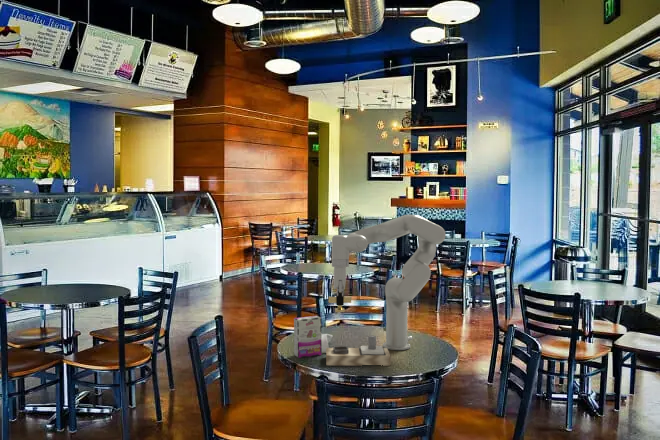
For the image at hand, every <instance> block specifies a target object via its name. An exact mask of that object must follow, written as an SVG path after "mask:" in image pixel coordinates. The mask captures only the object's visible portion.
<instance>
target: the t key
mask: <svg viewBox="0 0 660 440" xmlns="http://www.w3.org/2000/svg"><path fill="white" fill-rule="evenodd" d="M328 303H329V304H336V296H328ZM351 303H352V296H344V304H351ZM345 312H346V310H345V308H344V307H343V305H337V308H335V313H345Z"/></svg>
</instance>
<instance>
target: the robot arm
mask: <svg viewBox="0 0 660 440" xmlns="http://www.w3.org/2000/svg"><path fill="white" fill-rule="evenodd" d="M408 234H409V235H410V234H411V235H412V234H413V235H415V236H417V237H418V238H417V239H418V246H417V248H416V250H415V252H414V253H413V254H412V255H411V256H410V258H409V259H408V260H407V261H406V262H405V263H404V265H403V266H402V267H401V274H402V276H403V277H404V278H400V277H392V278H390V279H388V280H387V282H386V283H385V286H384V287H385V288H384V296H385V303H386V313H385V314H386V315H385V316H386V321H385V324H386V326H385V327H386V328H385V330H386V331H385V335H386V336H385V342H383V343H382V348H387V349H388V350H389V351H390V350H391V351H405V350H409V349H411V344H410V343H409V341H413V340H414V339H413V336H412V335H408V314H409V313H408V302H412V300H414V298H416V297H417V296H418V294H419V293H420V292H421V291H422V289H423V288H424V287H425V285H426V284H427V283H428V282H429V280H430V278H431V272H432V271H431V268H430V266H429V265H430V264H431V263H432V261H433V260H434V258H435V257H436V253H437V252H436V251H437V245H439V244H440V245H441V244H442V243H443V242H444V241H445V239H446V230H445V229H444V228H443V227H442V226H440V225H439V224H436V223H434V222H432V221H430V220H428V219H427V218H425V217H422V216H420V215H416V214H404V215H401V216H399V217H396V218H393V219H391V220H388V221H384V222H382V223H378V224H376V225H375V224H374V225H373V226H369V227H365V228H362V229H359V230H356V231H354V232H350V233H349V234H346V235H345V234H334V235H332V237H331V267H332V268H333V290H336V296H335V297H336V303H335V304H336V306H338V305H342V306H345V305H344V304H345V303H344V297H345V295H344V290H345V289H346V282H347V281H346V280H347V268H349V267H350V264H349V263H350V262H349V261H350V252H355V253H361V252H363V251H365V250H366V249H367V248H368V245H369V244H375V243H385V242H390V241H393V240H395V239H398V238H400V237H403V236H406V235H408Z"/></svg>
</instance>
